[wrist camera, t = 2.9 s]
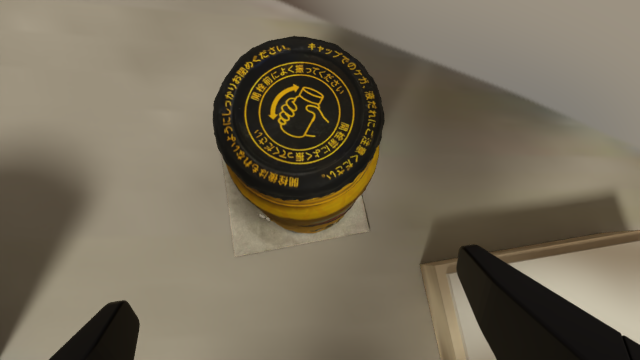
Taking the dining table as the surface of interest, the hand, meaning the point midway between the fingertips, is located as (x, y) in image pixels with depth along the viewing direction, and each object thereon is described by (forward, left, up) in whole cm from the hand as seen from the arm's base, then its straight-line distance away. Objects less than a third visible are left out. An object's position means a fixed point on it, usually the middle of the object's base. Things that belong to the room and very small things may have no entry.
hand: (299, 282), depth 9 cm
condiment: (+5, 0, -12) cm, 13 cm away
